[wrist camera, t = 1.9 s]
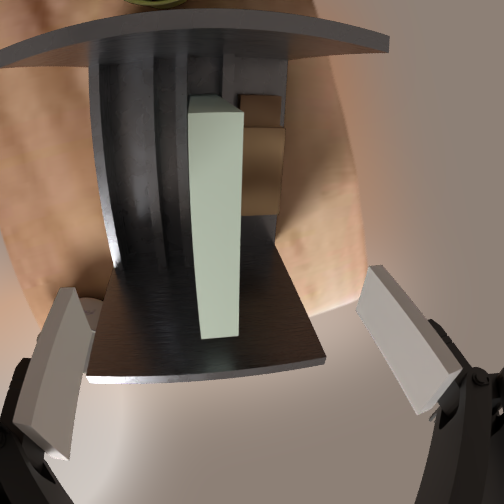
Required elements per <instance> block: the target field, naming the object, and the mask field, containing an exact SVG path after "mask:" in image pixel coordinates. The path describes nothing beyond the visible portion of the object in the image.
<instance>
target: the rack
mask: <svg viewBox="0 0 504 504" xmlns="http://www.w3.org/2000/svg"><path fill="white" fill-rule="evenodd" d="M389 38H390V37H389V36H387V35H384V34H381V33H378V32H375V31H371V30H367V29H363V28H360V27H356V26H352V25H348V24H343V23H339V22H335V21H330V20H325V19H320V18H314V17H308V16H302V15H296V14H288V13H280V12H271V11H261V10H247V9H221V8H202V9H176V10H162V11H151V12H143V13H135V14H128V15H121V16H115V17H109V18H104V19H99V20H94V21H89V22H85V23H81V24H77V25H73V26H69V27H65V28H61V29H58V30H54V31H51V32H48V33H45V34H41V35H38V36H35V37H32V38H30V39H27V40H24V41H21V42H19V43H16V44H13V45H11V46H8V47H6V48H3V49H1V50H0V68H13V67H35V66H69V67H89V98H90V116H91V129H92V140H93V149H94V158H95V166H96V174H97V181H98V188H99V194H100V200H101V206H102V212H103V217H104V223H105V228H106V233H107V238H108V242H109V247H110V251H111V256H112V260H113V264H114V267H113V270H112V274H111V277H110V280H109V283H108V287H107V290H106V294H105V297H104V301H103V305H102V308H101V312H100V316H99V320H98V324H97V328H96V332H95V336H94V340H93V345H92V349H91V354H90V358H89V363H88V368H87V373H86V377H87V378H88V380H89V382H90V383H106V384H107V383H108V384H109V383H110V384H140V383H141V384H144V383H172V382H191V381H203V380H216V379H227V378H236V377H245V376H253V375H260V374H269V373H275V372H282V371H289V370H294V369H301V368H306V367H312V366H317V365H323V364H324V363H325V360H326V355H325V353H324V350H323V348H322V346H321V344H320V342H319V339H318V337H317V335H316V332H315V330H314V328H313V326H312V324H311V321H310V319H309V317H308V315H307V313H306V311H305V308H304V306H303V304H302V302H301V300H300V297H299V295H298V293H297V291H296V289H295V287H294V285H293V282H292V280H291V278H290V276H289V274H288V272H287V270H286V267H285V265H284V263H283V261H282V259H281V257H280V255H279V253H278V250H277V248H276V246H275V232H276V221H277V215H253V216H241V231H240V277H239V336H232V337H221V338H209V339H201V331H200V322H199V312H198V302H197V291H196V280H195V267H194V254H193V240H192V224H191V206H190V184H189V154H188V109H189V102H190V96H191V95H196V94H216V95H218V96H220V97H221V98H223V99H224V100H226V101H227V102H229V103H231V104H232V105H234V106H235V107H238V94H260V95H277V96H282V99H281V115H280V126H282V127H284V114H285V99H286V82H287V65H288V60H293V59H301V58H309V57H318V56H329V55H342V54H361V53H388V52H389Z"/></svg>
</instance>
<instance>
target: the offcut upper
mask: <svg viewBox="0 0 504 504" xmlns="http://www.w3.org/2000/svg"><path fill="white" fill-rule="evenodd" d="M284 143H285V128H284V127H282V126H280V125H244V127H243V158H242V192H241V216H253V215H278V214H279V206H280V195H281V182H282V170H283V157H284Z"/></svg>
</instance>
